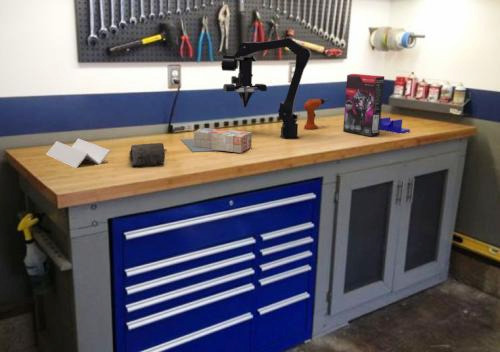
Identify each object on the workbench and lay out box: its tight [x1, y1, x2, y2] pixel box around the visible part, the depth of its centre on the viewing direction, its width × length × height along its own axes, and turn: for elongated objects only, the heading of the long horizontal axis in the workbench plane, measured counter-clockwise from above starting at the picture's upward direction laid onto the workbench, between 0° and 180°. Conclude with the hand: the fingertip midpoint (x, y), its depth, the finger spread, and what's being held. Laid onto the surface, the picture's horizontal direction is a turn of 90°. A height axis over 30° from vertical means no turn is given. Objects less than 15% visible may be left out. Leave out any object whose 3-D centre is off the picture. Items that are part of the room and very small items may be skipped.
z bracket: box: [45, 138, 111, 169], centre depth 183 cm, size 12×25×6 cm
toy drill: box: [303, 98, 330, 131], centre depth 254 cm, size 5×19×15 cm, turn 135°
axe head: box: [129, 142, 168, 167], centre depth 185 cm, size 26×8×15 cm
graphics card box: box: [342, 73, 385, 137], centre depth 239 cm, size 17×7×27 cm, turn 41°
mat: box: [180, 138, 222, 153], centre depth 210 cm, size 14×24×1 cm, turn 18°
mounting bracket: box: [380, 116, 411, 134], centre depth 254 cm, size 18×7×6 cm, turn 39°
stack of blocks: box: [193, 127, 253, 154], centre depth 204 cm, size 21×6×12 cm
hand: (244, 107), depth 230 cm, fingers closed
